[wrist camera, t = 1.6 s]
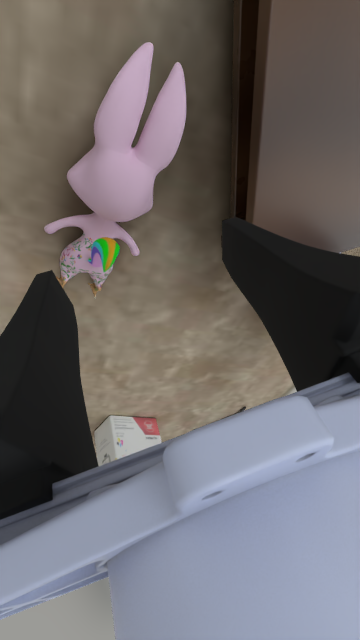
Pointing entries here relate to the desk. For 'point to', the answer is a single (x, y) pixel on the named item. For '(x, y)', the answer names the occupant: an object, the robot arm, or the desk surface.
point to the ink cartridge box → (124, 437)
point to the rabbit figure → (121, 166)
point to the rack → (297, 120)
